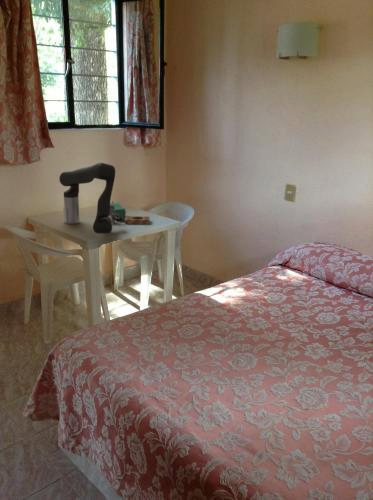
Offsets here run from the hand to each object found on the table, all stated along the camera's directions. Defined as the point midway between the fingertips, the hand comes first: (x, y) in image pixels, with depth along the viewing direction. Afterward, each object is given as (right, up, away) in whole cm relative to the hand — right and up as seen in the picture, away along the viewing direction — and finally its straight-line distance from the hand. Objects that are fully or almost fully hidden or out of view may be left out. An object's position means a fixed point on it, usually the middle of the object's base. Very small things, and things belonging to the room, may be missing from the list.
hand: (109, 214), depth 273 cm
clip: (-1, -5, +13) cm, 14 cm away
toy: (-1, +1, +31) cm, 31 cm away
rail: (+16, -4, +16) cm, 23 cm away
